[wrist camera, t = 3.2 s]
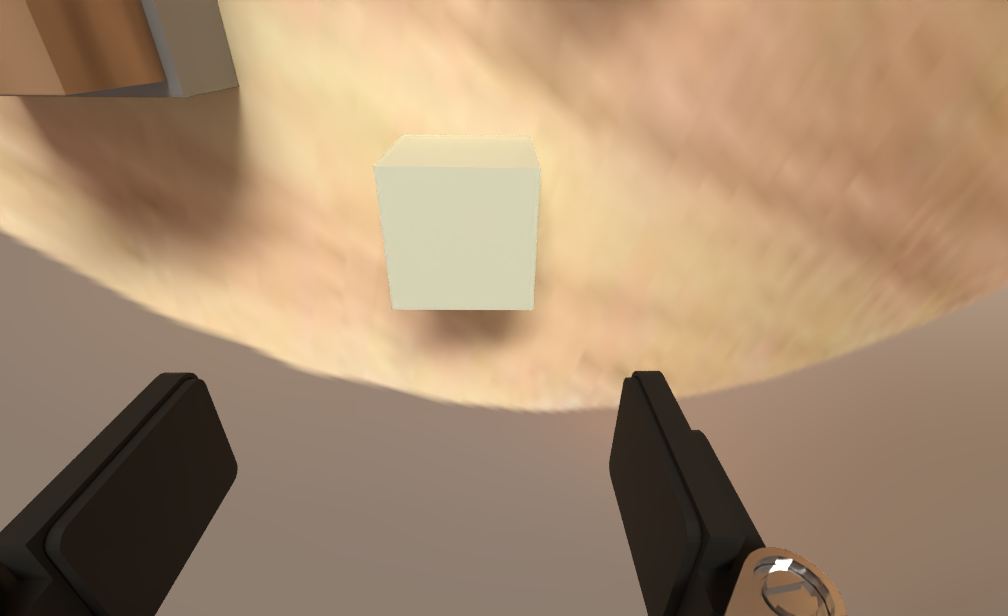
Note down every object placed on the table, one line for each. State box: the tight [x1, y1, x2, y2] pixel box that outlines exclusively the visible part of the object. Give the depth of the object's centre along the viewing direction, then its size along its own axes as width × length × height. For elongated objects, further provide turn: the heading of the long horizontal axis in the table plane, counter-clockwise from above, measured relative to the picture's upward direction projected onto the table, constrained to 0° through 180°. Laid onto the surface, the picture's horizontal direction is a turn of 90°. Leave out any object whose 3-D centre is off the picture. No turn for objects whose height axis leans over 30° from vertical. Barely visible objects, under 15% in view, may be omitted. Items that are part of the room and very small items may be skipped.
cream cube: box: [373, 134, 541, 310], centre depth 21 cm, size 6×6×6 cm
